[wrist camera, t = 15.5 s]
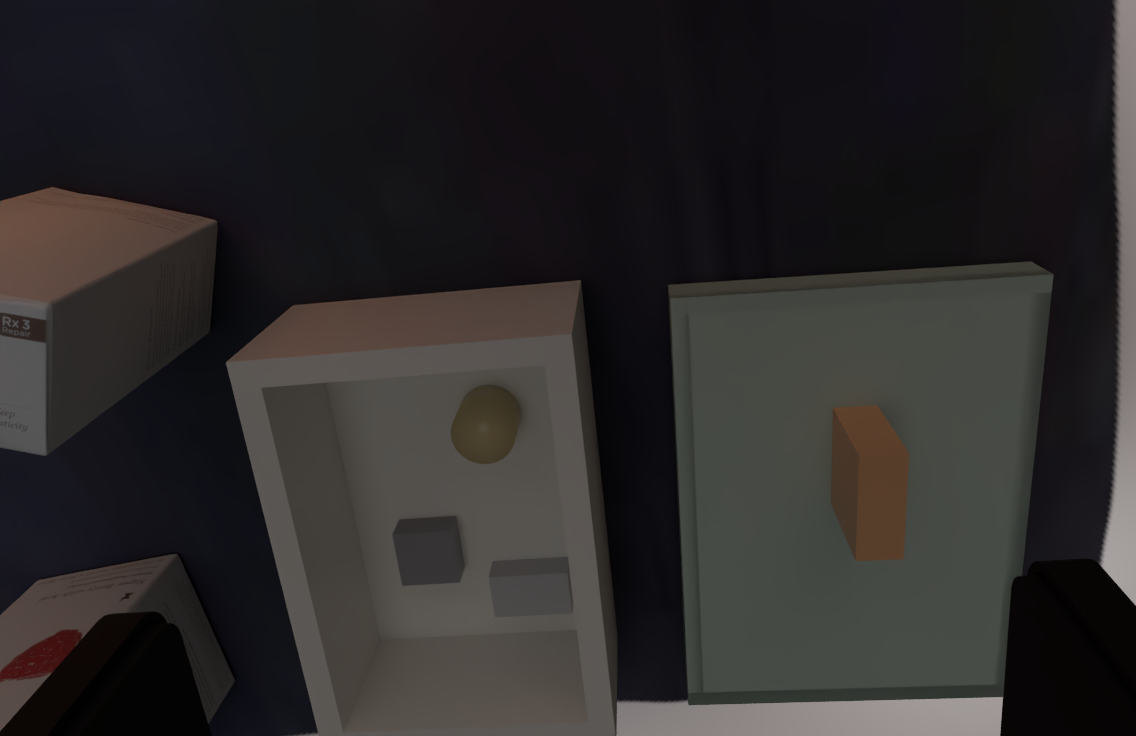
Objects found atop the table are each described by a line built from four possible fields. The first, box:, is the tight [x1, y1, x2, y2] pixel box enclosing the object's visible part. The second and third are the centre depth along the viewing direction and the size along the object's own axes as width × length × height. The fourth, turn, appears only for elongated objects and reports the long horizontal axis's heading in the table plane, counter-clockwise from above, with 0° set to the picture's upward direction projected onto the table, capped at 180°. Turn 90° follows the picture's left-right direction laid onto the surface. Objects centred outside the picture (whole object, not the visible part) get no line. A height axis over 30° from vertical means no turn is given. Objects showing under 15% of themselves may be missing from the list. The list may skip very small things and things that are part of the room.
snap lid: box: [668, 262, 1053, 705], centre depth 43 cm, size 22×16×7 cm
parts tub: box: [226, 280, 617, 736], centre depth 43 cm, size 20×14×8 cm
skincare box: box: [0, 187, 218, 456], centre depth 37 cm, size 8×6×15 cm
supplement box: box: [0, 554, 235, 731], centre depth 45 cm, size 9×9×15 cm
